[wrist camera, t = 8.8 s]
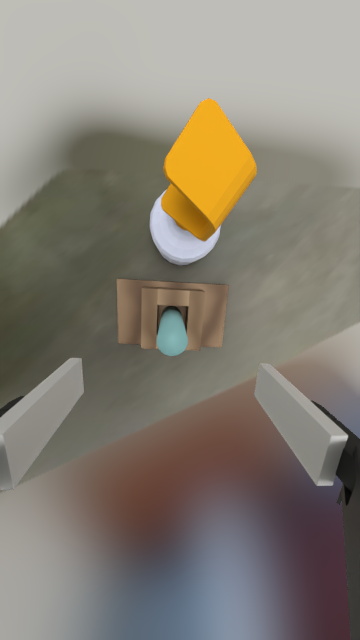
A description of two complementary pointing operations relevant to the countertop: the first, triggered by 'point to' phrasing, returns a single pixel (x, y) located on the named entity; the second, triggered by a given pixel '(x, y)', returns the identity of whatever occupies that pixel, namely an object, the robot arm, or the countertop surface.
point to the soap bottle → (200, 185)
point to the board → (135, 305)
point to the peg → (171, 332)
